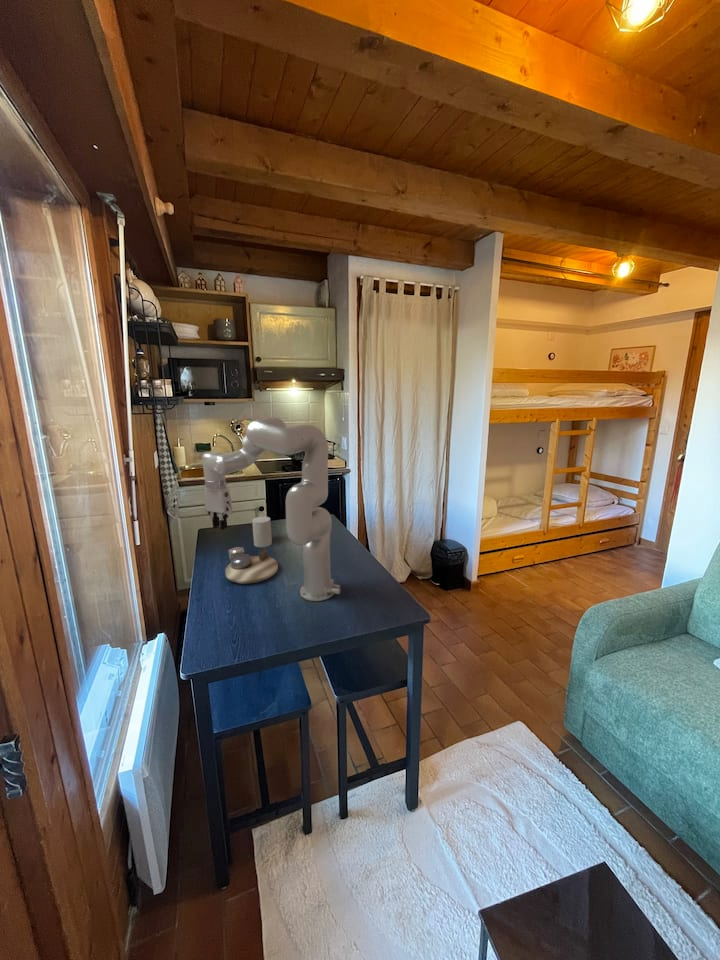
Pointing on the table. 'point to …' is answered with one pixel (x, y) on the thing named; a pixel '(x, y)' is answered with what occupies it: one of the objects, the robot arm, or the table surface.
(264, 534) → the cup
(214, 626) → the table surface
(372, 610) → the table surface
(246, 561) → the disc
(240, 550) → the dial gauge
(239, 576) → the turntable
